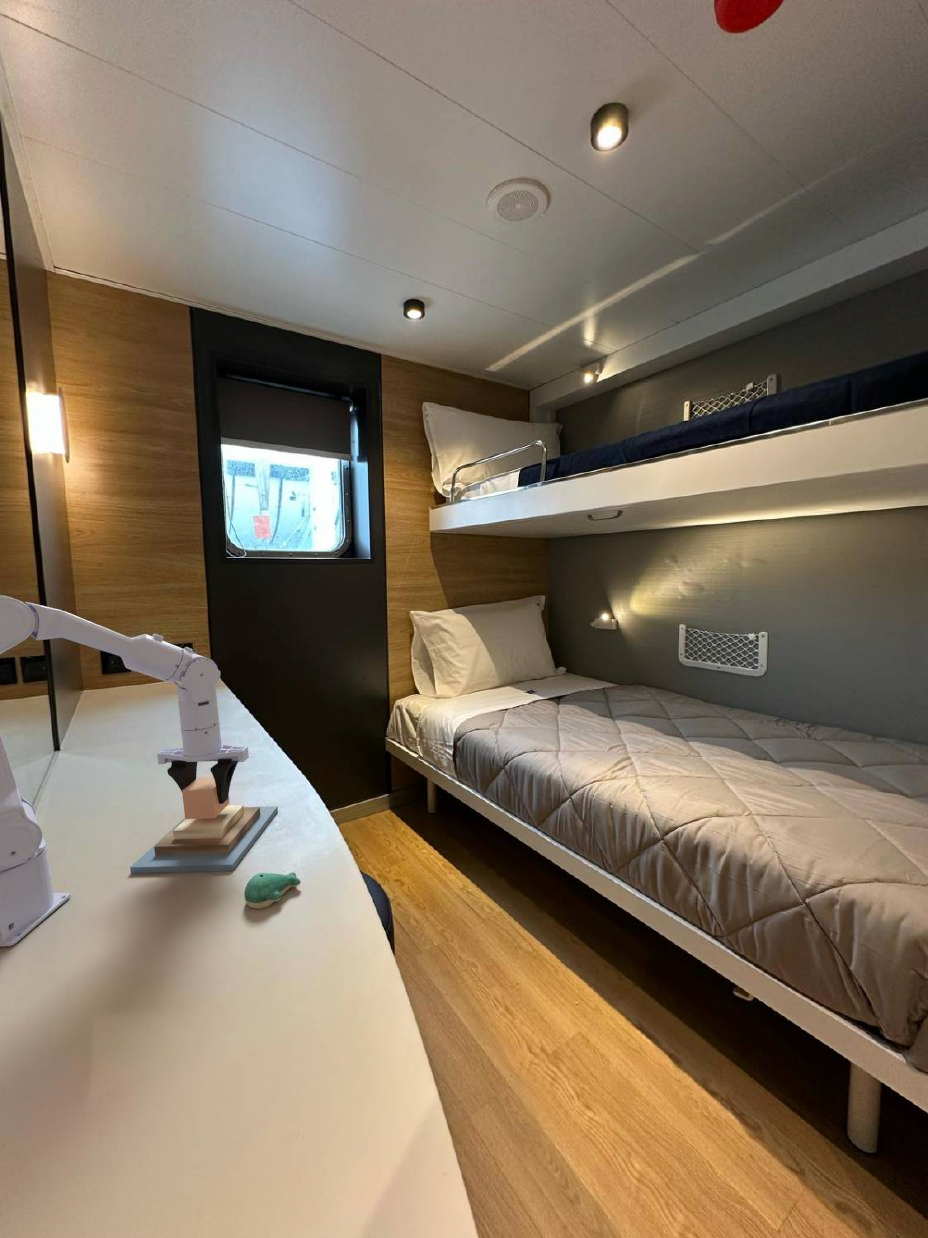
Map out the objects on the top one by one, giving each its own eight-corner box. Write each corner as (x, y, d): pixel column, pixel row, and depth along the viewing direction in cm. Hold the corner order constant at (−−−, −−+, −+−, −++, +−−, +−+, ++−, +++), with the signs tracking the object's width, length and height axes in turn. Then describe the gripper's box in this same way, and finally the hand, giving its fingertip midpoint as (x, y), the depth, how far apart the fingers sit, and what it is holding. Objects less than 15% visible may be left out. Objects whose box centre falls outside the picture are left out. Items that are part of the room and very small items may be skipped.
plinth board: (232, 870, 76) (230, 846, 75) (130, 873, 76) (127, 849, 75) (277, 811, 93) (276, 791, 93) (195, 813, 94) (193, 793, 93)
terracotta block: (214, 818, 81) (212, 789, 81) (185, 819, 81) (182, 790, 81) (229, 803, 86) (226, 776, 85) (201, 804, 86) (198, 777, 86)
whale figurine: (241, 896, 70) (239, 871, 69) (293, 875, 74) (291, 852, 74) (251, 919, 65) (248, 893, 65) (305, 896, 69) (303, 871, 69)
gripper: (253, 716, 86) (259, 789, 88) (172, 718, 86) (180, 791, 88) (234, 730, 79) (241, 809, 81) (145, 732, 79) (155, 811, 81)
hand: (208, 801), depth 84 cm, fingers closed on terracotta block, 5 cm apart
